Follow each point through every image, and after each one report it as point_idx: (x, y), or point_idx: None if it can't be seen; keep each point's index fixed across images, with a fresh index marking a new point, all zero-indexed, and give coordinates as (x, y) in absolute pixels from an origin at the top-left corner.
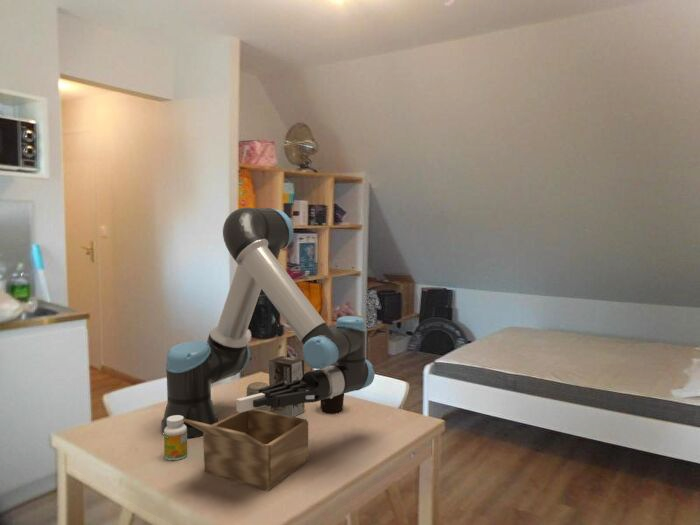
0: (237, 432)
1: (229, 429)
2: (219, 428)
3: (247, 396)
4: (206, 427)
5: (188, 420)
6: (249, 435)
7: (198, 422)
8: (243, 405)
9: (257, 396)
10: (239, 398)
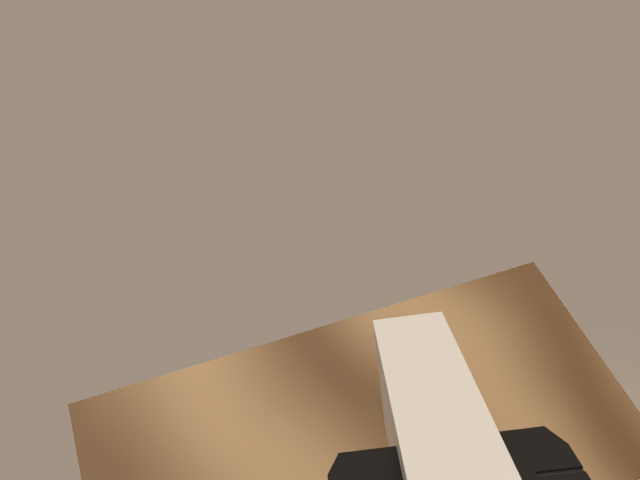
0: (136, 387)
1: (205, 363)
2: (278, 343)
3: (472, 381)
4: None
5: (496, 275)
6: (77, 455)
7: (431, 294)
8: (383, 394)
9: (405, 460)
10: (444, 326)
